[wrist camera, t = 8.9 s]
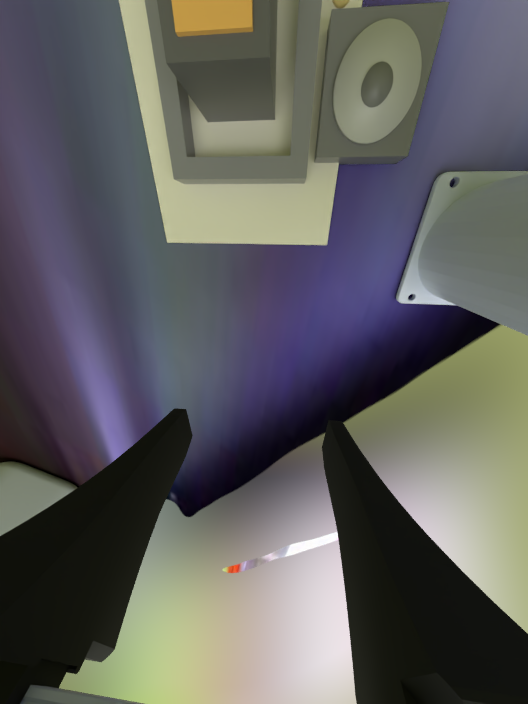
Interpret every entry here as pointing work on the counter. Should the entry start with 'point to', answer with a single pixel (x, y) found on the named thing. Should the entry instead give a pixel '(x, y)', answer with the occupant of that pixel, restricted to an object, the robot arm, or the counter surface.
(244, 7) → the plug
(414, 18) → the fan housing
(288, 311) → the counter surface
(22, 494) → the plastic bottle
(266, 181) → the board
